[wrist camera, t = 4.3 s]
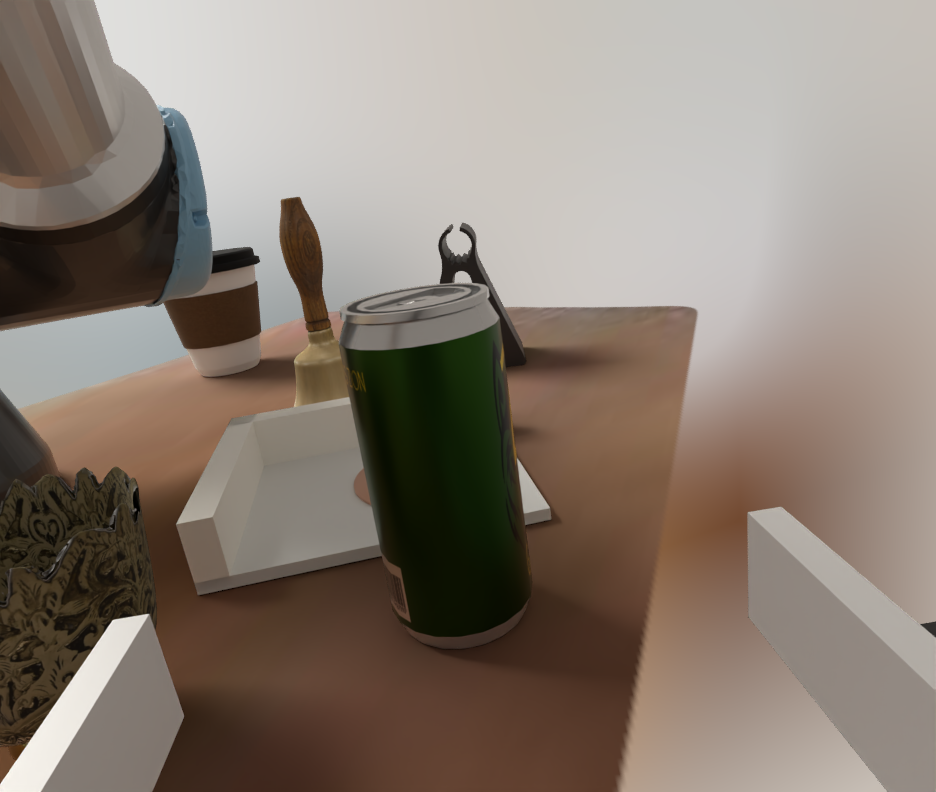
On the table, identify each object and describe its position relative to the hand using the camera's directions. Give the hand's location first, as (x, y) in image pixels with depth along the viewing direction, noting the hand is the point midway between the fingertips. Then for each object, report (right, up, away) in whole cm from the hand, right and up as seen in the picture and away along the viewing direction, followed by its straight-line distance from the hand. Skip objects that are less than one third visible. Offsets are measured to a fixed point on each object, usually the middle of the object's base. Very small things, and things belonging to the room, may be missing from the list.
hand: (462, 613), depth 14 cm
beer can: (0, -3, +11) cm, 11 cm away
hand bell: (-9, +3, +34) cm, 35 cm away
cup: (-13, -6, +7) cm, 16 cm away
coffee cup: (-25, +8, +56) cm, 62 cm away
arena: (-5, 0, +22) cm, 22 cm away
